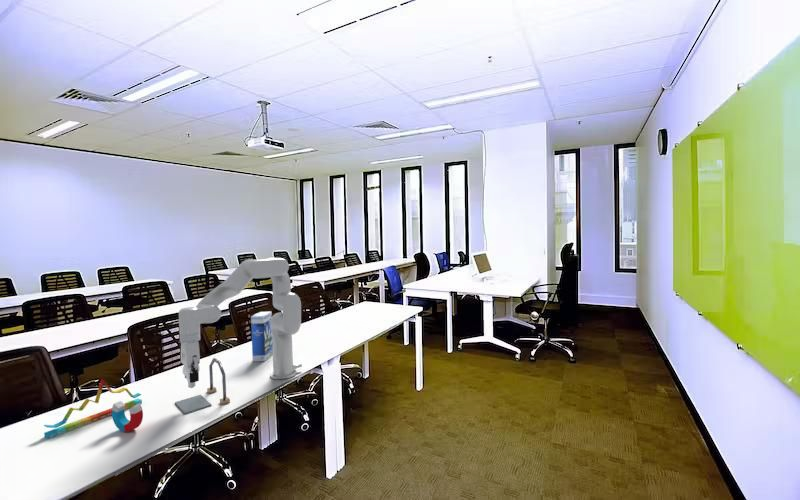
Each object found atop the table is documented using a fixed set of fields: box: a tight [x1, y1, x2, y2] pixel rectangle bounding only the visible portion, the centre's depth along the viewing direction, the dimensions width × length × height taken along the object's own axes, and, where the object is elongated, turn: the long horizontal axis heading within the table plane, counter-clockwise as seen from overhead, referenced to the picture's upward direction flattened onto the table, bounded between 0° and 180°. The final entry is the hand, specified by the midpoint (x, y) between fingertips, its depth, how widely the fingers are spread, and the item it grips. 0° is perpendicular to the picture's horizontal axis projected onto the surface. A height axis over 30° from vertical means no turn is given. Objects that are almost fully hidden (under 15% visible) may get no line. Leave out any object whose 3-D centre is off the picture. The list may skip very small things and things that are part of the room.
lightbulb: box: [181, 363, 201, 389], centre depth 154 cm, size 6×6×11 cm
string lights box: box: [250, 311, 273, 362], centre depth 213 cm, size 13×8×26 cm, turn 179°
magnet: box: [111, 400, 144, 433], centre depth 134 cm, size 12×3×10 cm, turn 74°
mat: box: [174, 394, 212, 415], centre depth 154 cm, size 10×14×1 cm
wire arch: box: [206, 357, 231, 405], centre depth 161 cm, size 3×19×17 cm, turn 45°
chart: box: [43, 378, 143, 440], centre depth 144 cm, size 30×3×15 cm, turn 151°
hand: (191, 379), depth 154 cm, fingers closed on lightbulb, 6 cm apart
